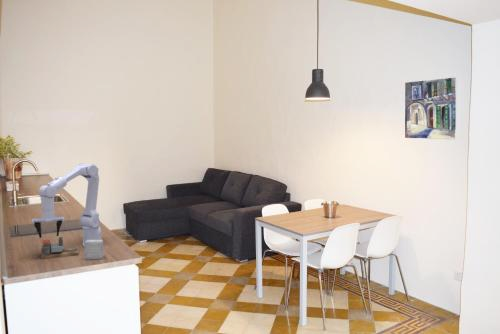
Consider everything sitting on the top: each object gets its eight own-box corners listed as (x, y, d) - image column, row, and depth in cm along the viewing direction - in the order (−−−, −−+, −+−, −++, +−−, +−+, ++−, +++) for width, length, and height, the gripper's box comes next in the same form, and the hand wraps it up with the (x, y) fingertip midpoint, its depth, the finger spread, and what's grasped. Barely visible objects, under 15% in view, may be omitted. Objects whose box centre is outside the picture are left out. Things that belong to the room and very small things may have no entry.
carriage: (63, 247, 208) (62, 236, 207) (62, 251, 201) (61, 239, 201) (52, 248, 206) (52, 237, 205) (51, 252, 199) (50, 240, 199)
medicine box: (104, 256, 200) (103, 239, 199) (101, 259, 196) (100, 242, 195) (87, 256, 200) (87, 239, 199) (84, 259, 196) (83, 242, 195)
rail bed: (79, 249, 212) (78, 239, 211) (78, 255, 203) (77, 244, 202) (42, 253, 206) (42, 243, 205) (40, 259, 197) (39, 248, 196)
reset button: (50, 240, 204) (50, 238, 204) (49, 242, 200) (49, 240, 200) (42, 241, 202) (42, 239, 202) (41, 243, 199) (41, 241, 199)
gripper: (30, 212, 194) (31, 239, 195) (63, 210, 199) (64, 237, 201) (32, 209, 201) (33, 236, 202) (64, 207, 206) (65, 233, 207)
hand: (49, 236), depth 202 cm, fingers open, 7 cm apart
